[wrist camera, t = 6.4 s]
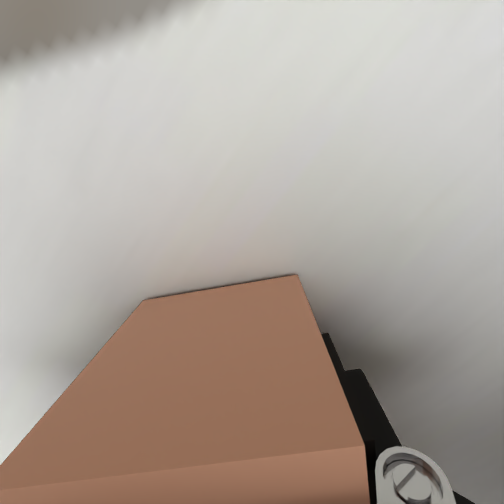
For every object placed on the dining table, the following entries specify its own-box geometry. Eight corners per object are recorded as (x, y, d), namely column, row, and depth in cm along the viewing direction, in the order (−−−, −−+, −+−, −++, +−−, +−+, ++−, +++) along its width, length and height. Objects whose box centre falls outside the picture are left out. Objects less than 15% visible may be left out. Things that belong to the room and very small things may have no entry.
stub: (320, 430, 11) (390, 711, 5) (192, 446, 12) (127, 727, 6) (297, 274, 9) (367, 453, 3) (143, 300, 10) (-31, 501, 4)
